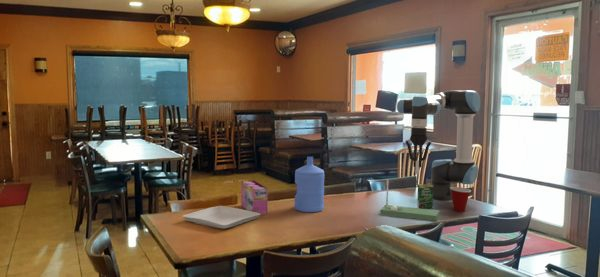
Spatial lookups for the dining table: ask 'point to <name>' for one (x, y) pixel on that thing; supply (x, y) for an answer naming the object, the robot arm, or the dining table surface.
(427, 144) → the robot arm
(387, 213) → the putting mat
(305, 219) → the dining table surface
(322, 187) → the water jug
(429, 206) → the coffee box
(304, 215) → the dining table surface
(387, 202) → the flag pin
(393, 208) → the ball
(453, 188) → the plastic cup
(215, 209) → the square plate
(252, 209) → the gum box
